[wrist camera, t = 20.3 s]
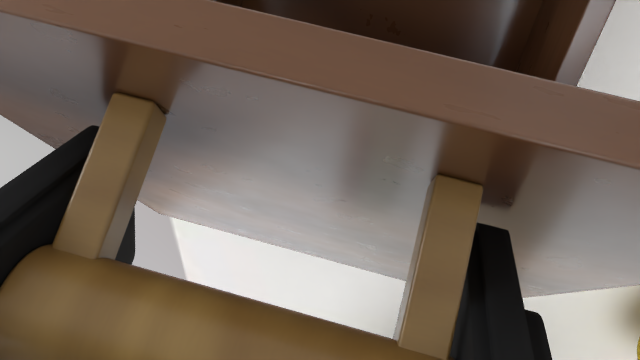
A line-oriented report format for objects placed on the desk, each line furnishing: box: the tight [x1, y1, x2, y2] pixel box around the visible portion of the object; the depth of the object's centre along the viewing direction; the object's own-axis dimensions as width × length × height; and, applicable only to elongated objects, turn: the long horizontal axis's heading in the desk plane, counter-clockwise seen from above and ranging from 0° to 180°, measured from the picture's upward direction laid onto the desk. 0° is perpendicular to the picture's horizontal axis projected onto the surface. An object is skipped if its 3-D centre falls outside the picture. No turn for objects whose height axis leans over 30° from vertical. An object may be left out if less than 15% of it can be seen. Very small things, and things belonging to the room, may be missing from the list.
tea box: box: [212, 0, 616, 86], centre depth 22 cm, size 17×15×7 cm
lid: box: [0, 0, 640, 360], centre depth 14 cm, size 17×15×5 cm
